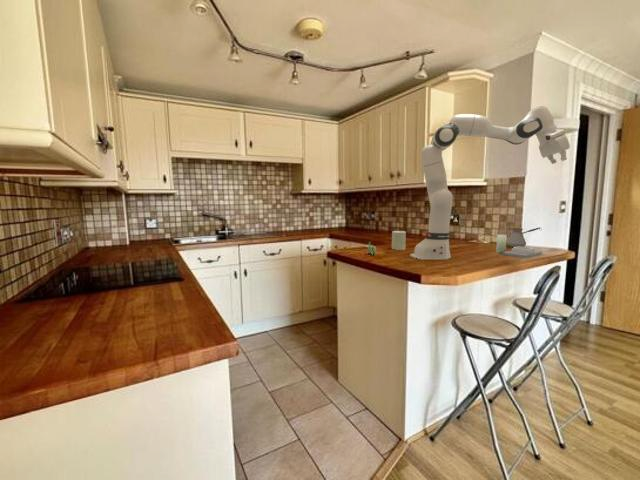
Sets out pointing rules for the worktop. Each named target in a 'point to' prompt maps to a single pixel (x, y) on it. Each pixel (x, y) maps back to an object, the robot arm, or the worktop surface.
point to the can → (398, 240)
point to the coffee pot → (518, 237)
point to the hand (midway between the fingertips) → (559, 161)
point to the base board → (522, 252)
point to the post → (501, 243)
